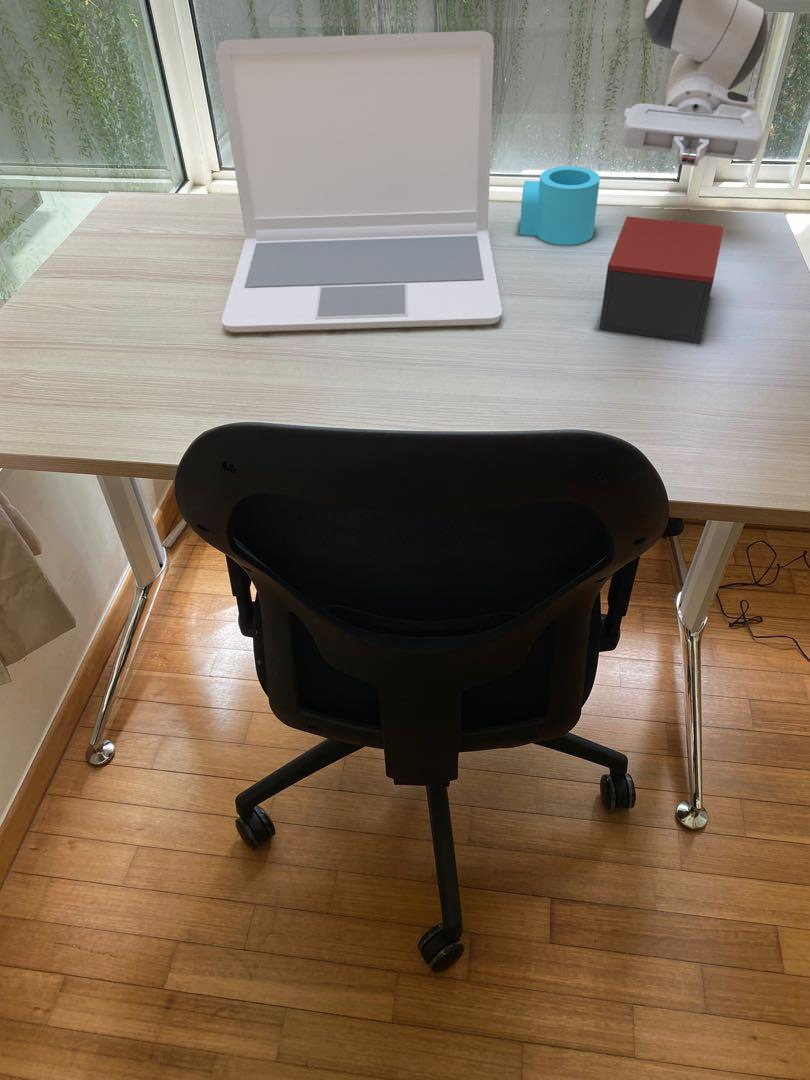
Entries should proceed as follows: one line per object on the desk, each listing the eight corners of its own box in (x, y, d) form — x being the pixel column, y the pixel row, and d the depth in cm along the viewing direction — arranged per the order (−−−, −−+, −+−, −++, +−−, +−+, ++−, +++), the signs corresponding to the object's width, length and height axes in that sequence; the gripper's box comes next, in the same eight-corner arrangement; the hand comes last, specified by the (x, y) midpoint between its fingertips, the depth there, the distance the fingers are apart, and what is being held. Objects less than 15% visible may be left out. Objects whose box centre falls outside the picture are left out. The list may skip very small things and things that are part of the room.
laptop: (221, 337, 124) (176, 105, 103) (248, 243, 146) (215, 37, 125) (503, 328, 123) (514, 93, 102) (486, 235, 146) (493, 27, 125)
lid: (626, 221, 127) (626, 216, 127) (722, 231, 124) (724, 226, 123) (607, 270, 116) (607, 264, 116) (712, 283, 113) (714, 277, 112)
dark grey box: (615, 285, 132) (623, 228, 126) (708, 297, 128) (721, 239, 122) (599, 329, 122) (607, 270, 116) (699, 343, 119) (712, 283, 113)
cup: (517, 242, 144) (521, 186, 137) (523, 218, 150) (527, 164, 144) (591, 246, 142) (598, 190, 135) (594, 222, 148) (601, 167, 142)
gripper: (628, 85, 135) (620, 132, 127) (766, 99, 131) (766, 147, 123) (621, 125, 140) (612, 172, 132) (753, 139, 136) (752, 188, 129)
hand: (688, 160), depth 128 cm, fingers closed
